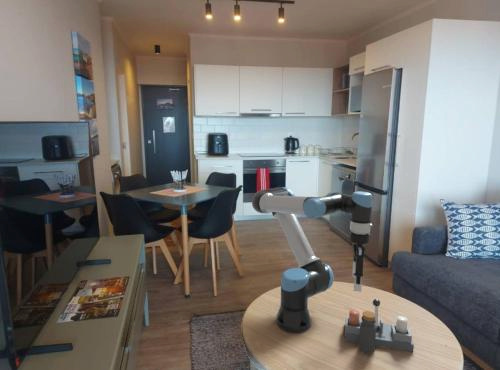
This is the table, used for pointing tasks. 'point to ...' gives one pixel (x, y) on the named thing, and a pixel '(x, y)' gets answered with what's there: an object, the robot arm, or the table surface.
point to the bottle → (367, 333)
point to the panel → (382, 336)
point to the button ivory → (401, 324)
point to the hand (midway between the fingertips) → (356, 283)
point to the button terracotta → (354, 317)
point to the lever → (376, 311)
